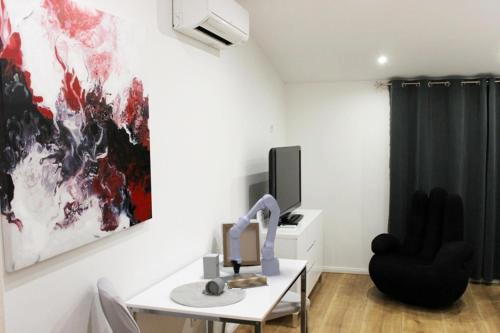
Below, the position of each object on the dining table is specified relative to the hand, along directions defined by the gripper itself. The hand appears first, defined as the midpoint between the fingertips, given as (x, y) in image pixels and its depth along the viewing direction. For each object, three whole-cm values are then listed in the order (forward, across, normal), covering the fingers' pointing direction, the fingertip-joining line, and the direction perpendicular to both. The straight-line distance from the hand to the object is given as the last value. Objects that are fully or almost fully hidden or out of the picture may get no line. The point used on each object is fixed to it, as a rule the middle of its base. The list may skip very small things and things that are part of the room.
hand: (236, 273), depth 261 cm
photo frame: (+2, -26, +11) cm, 29 cm away
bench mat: (+2, +11, 0) cm, 11 cm away
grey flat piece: (+1, +12, 0) cm, 12 cm away
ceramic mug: (+2, +24, -19) cm, 30 cm away
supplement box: (+2, -4, -13) cm, 14 cm away
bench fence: (+1, +18, 0) cm, 18 cm away
